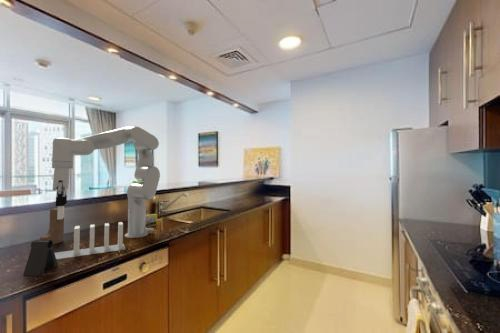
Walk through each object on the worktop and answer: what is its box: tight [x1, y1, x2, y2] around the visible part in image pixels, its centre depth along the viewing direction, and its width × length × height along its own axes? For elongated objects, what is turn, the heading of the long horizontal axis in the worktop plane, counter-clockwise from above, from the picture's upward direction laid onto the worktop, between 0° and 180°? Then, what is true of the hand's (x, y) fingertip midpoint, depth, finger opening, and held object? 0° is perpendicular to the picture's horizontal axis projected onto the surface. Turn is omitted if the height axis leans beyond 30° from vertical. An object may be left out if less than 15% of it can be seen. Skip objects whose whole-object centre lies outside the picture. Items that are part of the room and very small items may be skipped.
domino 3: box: [88, 224, 96, 253], centre depth 115 cm, size 2×6×12 cm, turn 32°
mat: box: [54, 243, 126, 260], centre depth 115 cm, size 30×10×1 cm, turn 122°
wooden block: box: [39, 207, 65, 245], centre depth 126 cm, size 9×4×18 cm, turn 167°
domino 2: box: [73, 225, 81, 255], centre depth 112 cm, size 2×6×12 cm, turn 32°
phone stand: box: [22, 239, 59, 277], centre depth 93 cm, size 9×6×12 cm, turn 1°
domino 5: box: [117, 221, 124, 249], centre depth 122 cm, size 2×6×12 cm, turn 32°
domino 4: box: [103, 222, 110, 251], centre depth 118 cm, size 2×6×12 cm, turn 32°
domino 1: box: [57, 195, 65, 220], centre depth 109 cm, size 2×6×12 cm, turn 32°
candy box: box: [145, 213, 158, 228], centre depth 165 cm, size 16×2×8 cm, turn 137°
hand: (61, 204), depth 109 cm, fingers closed on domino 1, 5 cm apart
